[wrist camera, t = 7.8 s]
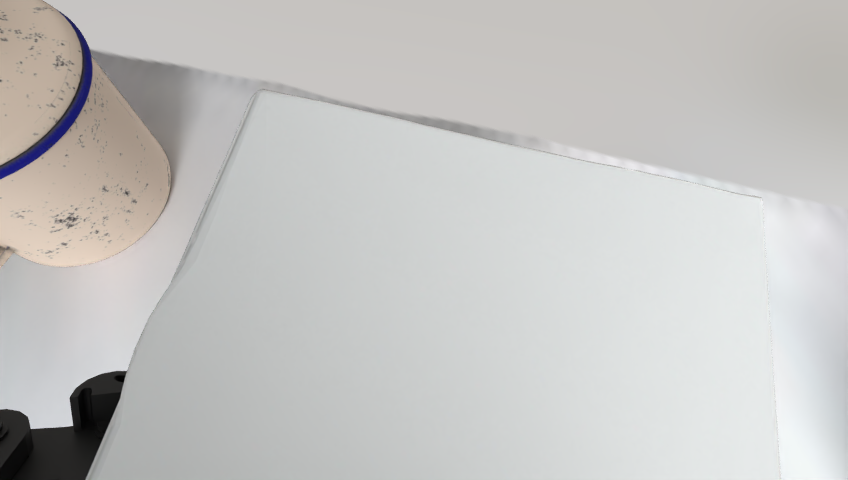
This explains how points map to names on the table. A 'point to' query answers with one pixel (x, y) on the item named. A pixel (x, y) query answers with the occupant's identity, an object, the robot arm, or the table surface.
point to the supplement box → (449, 317)
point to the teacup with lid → (69, 147)
